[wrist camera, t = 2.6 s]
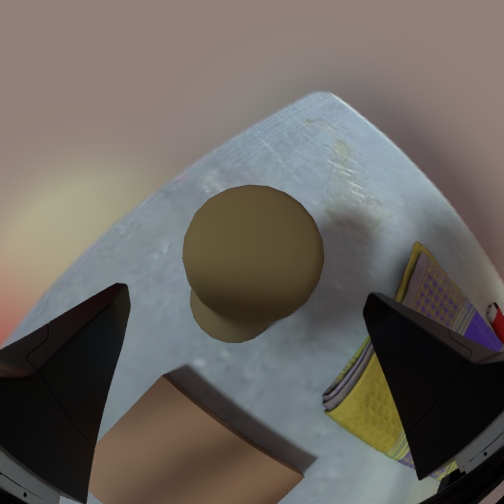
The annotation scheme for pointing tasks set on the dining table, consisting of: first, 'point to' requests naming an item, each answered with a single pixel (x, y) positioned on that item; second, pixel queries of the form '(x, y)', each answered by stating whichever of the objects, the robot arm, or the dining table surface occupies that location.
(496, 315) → the lighter
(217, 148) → the dining table surface
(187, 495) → the walnut board
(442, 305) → the dish towel
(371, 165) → the dining table surface
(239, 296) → the olive brown peg figure
